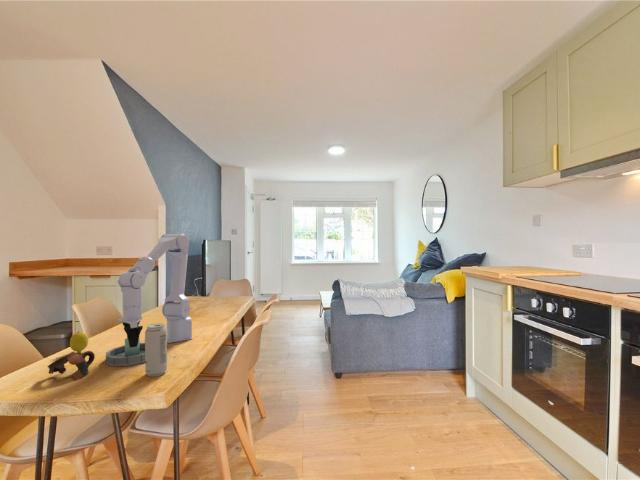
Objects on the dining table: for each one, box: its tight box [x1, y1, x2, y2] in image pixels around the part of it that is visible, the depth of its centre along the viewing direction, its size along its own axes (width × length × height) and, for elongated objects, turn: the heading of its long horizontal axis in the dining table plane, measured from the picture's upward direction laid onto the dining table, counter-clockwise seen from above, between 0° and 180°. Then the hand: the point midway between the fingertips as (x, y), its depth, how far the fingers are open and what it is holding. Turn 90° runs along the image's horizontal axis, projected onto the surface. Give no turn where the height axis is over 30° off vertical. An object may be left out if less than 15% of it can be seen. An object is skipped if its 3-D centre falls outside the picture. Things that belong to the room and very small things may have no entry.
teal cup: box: [124, 336, 141, 357], centre depth 116 cm, size 5×5×6 cm
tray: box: [105, 342, 145, 368], centre depth 116 cm, size 16×16×3 cm
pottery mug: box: [47, 350, 96, 381], centre depth 102 cm, size 12×10×8 cm
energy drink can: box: [144, 322, 168, 378], centre depth 102 cm, size 6×6×15 cm
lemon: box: [69, 330, 89, 354], centre depth 122 cm, size 6×6×8 cm
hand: (132, 343), depth 116 cm, fingers open, 7 cm apart
